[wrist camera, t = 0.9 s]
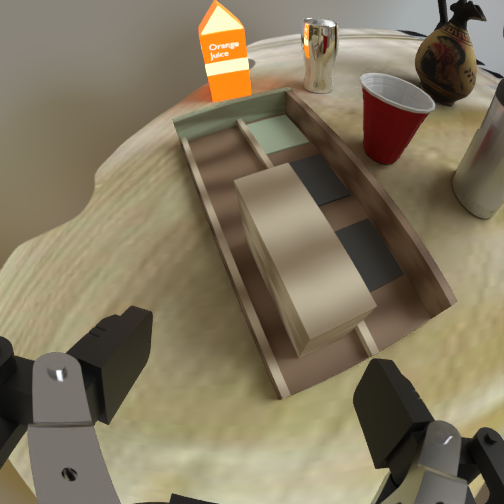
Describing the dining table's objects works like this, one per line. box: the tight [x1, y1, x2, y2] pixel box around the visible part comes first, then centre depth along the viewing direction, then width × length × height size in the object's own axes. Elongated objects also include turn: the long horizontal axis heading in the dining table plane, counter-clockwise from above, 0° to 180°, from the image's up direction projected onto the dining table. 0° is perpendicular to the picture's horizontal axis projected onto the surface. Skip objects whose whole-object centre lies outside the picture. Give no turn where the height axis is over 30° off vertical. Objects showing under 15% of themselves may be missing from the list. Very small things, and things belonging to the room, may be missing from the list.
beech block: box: [234, 163, 377, 358], centre depth 24 cm, size 14×5×10 cm, turn 21°
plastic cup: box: [360, 73, 435, 164], centre depth 33 cm, size 11×11×12 cm
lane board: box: [172, 87, 457, 400], centre depth 32 cm, size 39×19×5 cm, turn 21°
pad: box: [246, 115, 309, 155], centre depth 40 cm, size 8×7×1 cm
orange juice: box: [199, 0, 252, 102], centre depth 42 cm, size 8×9×20 cm
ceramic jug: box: [415, 0, 487, 106], centre depth 35 cm, size 17×15×30 cm
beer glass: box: [301, 18, 339, 94], centre depth 42 cm, size 7×7×15 cm
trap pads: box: [289, 154, 404, 292], centre depth 32 cm, size 20×7×1 cm, turn 21°
